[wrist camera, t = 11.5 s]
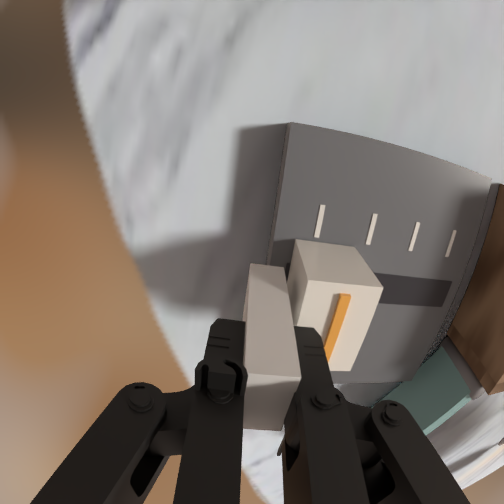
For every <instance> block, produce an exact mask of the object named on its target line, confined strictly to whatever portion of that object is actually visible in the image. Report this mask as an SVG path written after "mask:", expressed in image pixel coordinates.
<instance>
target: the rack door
mask: <svg viewBox="0 0 504 504" xmlns="http://www.w3.org/2000/svg"><path fill="white" fill-rule="evenodd" d="M484 392H485V389H484V388H483V386H482V384H481V383H480V381H479V380H478V378H477V377H476V375H475V374H474V372H473V371H472V369H471V368H470V366H469V365H468V363H467V362H466V360H465V359H464V357H463V356H462V354H461V353H460V352H459V350H458V349H457V347H456V346H455V344H454V343H453V342H452V340H451V339H450V338H449V336H448V337H446V338H445V339H444V340H443V341H442V342H441V344H440V348H439V349H438V350H437V351H436V352H435V353H434V354H433V355H432V356H431V357H430V358H429V359H428V360H427V361H426V362H425V363H424V364H423V365H422V366H421V367H419V369H418V371H417V372H416V374H415V376H414V377H413V379H412V381H404V382H402V383H401V384H400V385H399V386H398V387H396V388H395V389H394V390H393V391H392V392H390V393H389V394H388V395H387V396H385V397H384V398H383V399H382V400H392V401H397V402H398V403H400V404H402V405H404V406H405V407H406V409H407V410H408V411H409V412H410V413H411V415H412V416H413V418H414V419H415V421H416V422H417V424H418V425H419V426H420V428H421V429H422V431H423V432H424V434H425V435H428V434H429V433H430V432H432V431H433V430H434V429H436V428H437V427H438V426H440V425H441V424H442V423H444V422H445V421H446V420H447V419H449V418H450V417H451V416H452V415H454V414H455V413H456V412H457V411H458V410H460V409H461V408H462V407H463V406H464V405H465V404H467V403H468V402H469V401H470V400H471V399H472V400H474V399H477V398H478V397H480V396H481V395H482V394H483V393H484ZM382 400H380V401H382ZM380 401H379V402H380ZM374 406H375V405H374ZM374 406H373V407H374ZM373 407H371V408H373Z"/></svg>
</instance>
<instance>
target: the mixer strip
mask: <svg viewBox="0 0 504 504" xmlns="http://www.w3.org/2000/svg"><path fill="white" fill-rule="evenodd" d="M491 180H492V179H491V178H489V177H487V176H484V175H482V174H479V173H477V172H474V171H472V170H469V169H467V168H464V167H461V166H459V165H456V164H453V163H450V162H448V161H445V160H442V159H439V158H436V157H433V156H430V155H427V154H424V153H421V152H418V151H414V150H411V149H408V148H404V147H401V146H397V145H394V144H390V143H387V142H383V141H379V140H375V139H371V138H367V137H363V136H359V135H355V134H350V133H346V132H341V131H337V130H332V129H327V128H322V127H317V126H311V125H305V124H300V123H294V122H290V123H287V127H286V134H285V141H284V148H283V155H282V162H281V169H280V175H279V182H278V189H277V196H276V202H275V209H274V216H273V222H272V229H271V235H270V242H269V248H268V255H267V261H266V265H269V266H277V267H284V271H285V277H286V283H287V280H288V275H289V270H290V265H291V260H292V255H293V250H294V244H295V239H299V240H306V241H314V242H322V243H329V244H337V245H344V246H351V247H355V248H356V250H357V251H358V252H359V254H360V255H361V256H362V258H363V259H364V261H365V262H366V263H367V265H368V266H369V268H370V269H371V270H372V272H373V273H374V275H375V276H376V277H377V279H378V280H379V282H380V283H381V285H382V286H383V287H384V288H383V291H382V293H381V296H380V299H379V302H378V305H377V307H376V310H375V313H374V315H373V318H372V320H371V323H370V326H369V328H368V331H367V333H366V336H365V338H364V340H363V343H362V345H361V348H360V350H359V352H358V355H357V357H356V359H355V361H354V364H353V366H352V368H351V370H350V371H330V373H331V377H332V381H333V383H384V382H402V381H412V379H413V377H414V376H415V374H416V372H417V371H418V369H419V367H420V366H421V364H422V362H423V360H424V358H425V357H426V355H427V353H428V351H429V349H430V347H431V346H432V344H433V342H434V340H435V338H436V336H437V334H438V332H439V330H440V328H441V326H442V324H443V322H444V320H445V317H446V315H447V313H448V311H449V309H450V306H451V304H452V302H453V300H454V297H455V295H456V293H457V290H458V288H459V285H460V283H461V280H462V278H463V275H464V272H465V270H466V267H467V264H468V262H469V259H470V256H471V253H472V250H473V247H474V244H475V241H476V238H477V235H478V231H479V228H480V225H481V221H482V217H483V214H484V210H485V206H486V202H487V198H488V194H489V190H490V185H491Z"/></svg>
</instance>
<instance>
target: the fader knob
mask: <svg viewBox="0 0 504 504" xmlns="http://www.w3.org/2000/svg"><path fill="white" fill-rule="evenodd" d="M383 288H384V287H383V286H382V285H381V283H380V282H379V280H378V279H377V277H376V276H375V275H374V273H373V272H372V270H371V269H370V268H369V266H368V265H367V263H366V262H365V261H364V259H363V258H362V256H361V255H360V254H359V252H358V251H357V250H356V248H355V247H351V246H344V245H337V244H329V243H322V242H314V241H306V240H299V239H295V244H294V250H293V255H292V260H291V265H290V270H289V275H288V280H287V289H288V295H289V301H290V307H291V313H292V319H293V325H294V326H300V327H312V328H314V329H315V330H316V331H317V332H318V333H319V335H320V336H321V338H322V341H323V345H324V349H325V353H326V357H327V361H328V365H329V369H330V371H350V370H351V368H352V366H353V364H354V361H355V359H356V357H357V355H358V352H359V350H360V348H361V345H362V343H363V340H364V338H365V336H366V333H367V331H368V328H369V326H370V323H371V320H372V318H373V315H374V313H375V310H376V307H377V305H378V302H379V299H380V296H381V293H382V291H383Z"/></svg>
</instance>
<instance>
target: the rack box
mask: <svg viewBox="0 0 504 504" xmlns="http://www.w3.org/2000/svg"><path fill="white" fill-rule="evenodd" d="M447 335H448V336H449V338H450V339H451V340H452V342H453V343H454V344H455V346H456V347H457V349H458V350H459V352H460V353H461V354H462V356H463V357H464V359H465V360H466V362H467V363H468V365H469V366H470V368H471V369H472V371H473V372H474V374H475V375H476V377H477V378H478V380H479V381H480V383H481V384H482V386H483V388H484V389H485V391H486V392H487V394H488V395H491V394H495V393H499V392H502V391H504V185H503V184H500V186H499V190H498V195H497V199H496V203H495V207H494V211H493V215H492V218H491V222H490V225H489V229H488V232H487V235H486V239H485V242H484V245H483V248H482V251H481V254H480V257H479V259H478V262H477V265H476V268H475V270H474V273H473V276H472V278H471V281H470V283H469V286H468V288H467V290H466V293H465V295H464V297H463V300H462V302H461V304H460V307H459V309H458V311H457V313H456V315H455V317H454V319H453V321H452V324H451V326H450V328H449V330H448V332H447Z"/></svg>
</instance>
